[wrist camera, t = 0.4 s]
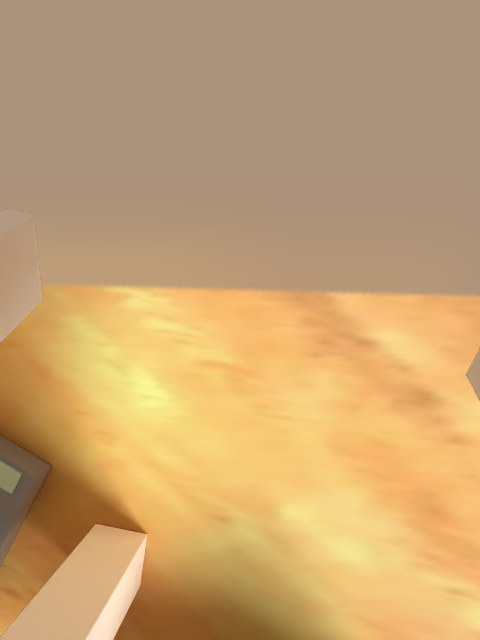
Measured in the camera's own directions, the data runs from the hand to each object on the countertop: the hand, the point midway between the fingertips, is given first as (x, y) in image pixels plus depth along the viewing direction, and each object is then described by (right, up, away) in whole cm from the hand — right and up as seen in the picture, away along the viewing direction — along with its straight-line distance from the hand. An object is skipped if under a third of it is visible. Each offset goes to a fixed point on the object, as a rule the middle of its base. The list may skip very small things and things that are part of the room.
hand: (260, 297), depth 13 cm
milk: (-14, -26, +37) cm, 48 cm away
